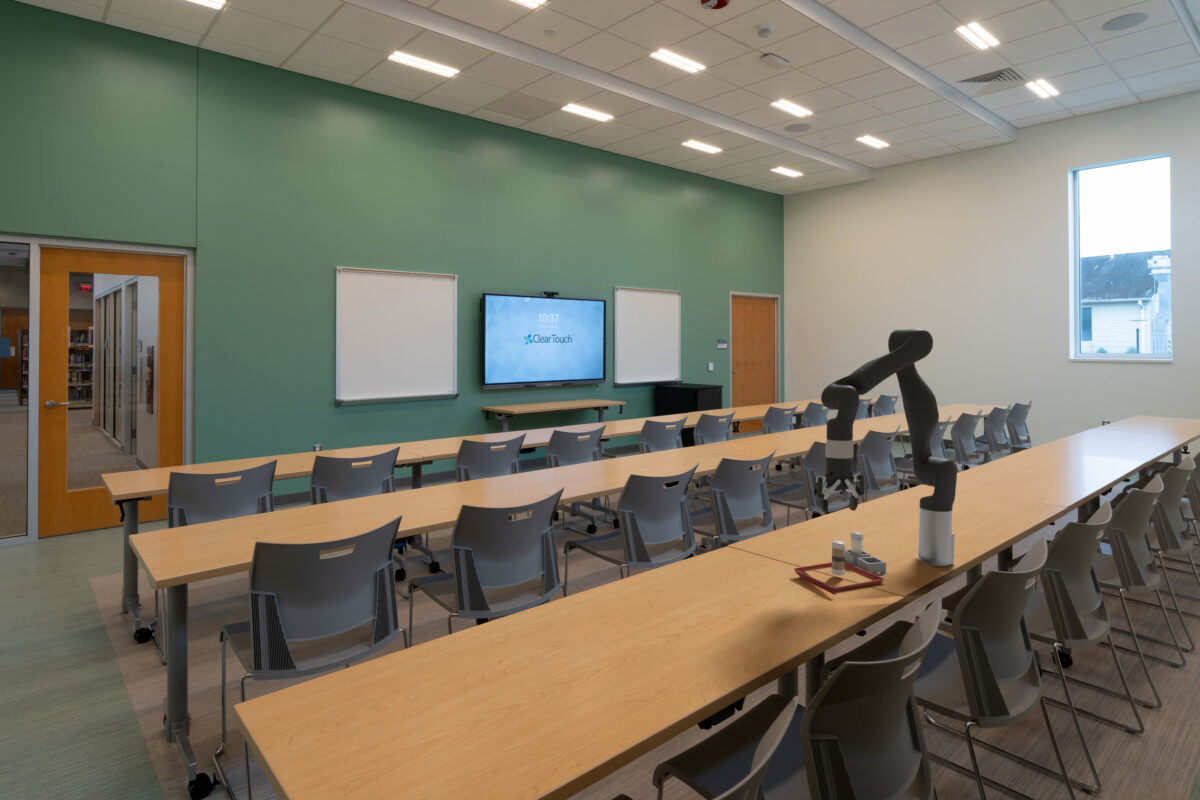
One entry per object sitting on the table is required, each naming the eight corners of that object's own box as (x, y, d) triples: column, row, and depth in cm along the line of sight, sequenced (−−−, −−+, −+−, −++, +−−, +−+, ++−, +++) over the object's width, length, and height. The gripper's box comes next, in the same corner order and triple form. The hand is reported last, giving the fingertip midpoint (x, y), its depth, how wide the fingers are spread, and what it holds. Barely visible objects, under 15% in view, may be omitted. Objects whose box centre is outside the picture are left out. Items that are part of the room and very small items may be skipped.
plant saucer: (792, 578, 194) (792, 567, 194) (840, 570, 201) (841, 560, 200) (833, 599, 177) (834, 587, 177) (885, 590, 184) (886, 578, 184)
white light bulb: (858, 559, 205) (859, 531, 204) (865, 563, 201) (865, 534, 201) (848, 560, 204) (848, 531, 204) (854, 563, 201) (854, 535, 200)
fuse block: (858, 561, 207) (858, 547, 207) (889, 578, 192) (889, 563, 191) (840, 562, 206) (840, 548, 206) (869, 580, 191) (869, 565, 190)
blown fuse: (840, 570, 191) (840, 540, 190) (847, 574, 187) (847, 543, 187) (829, 571, 190) (829, 541, 190) (835, 575, 187) (835, 544, 186)
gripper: (855, 452, 191) (854, 506, 192) (809, 454, 189) (809, 509, 190) (869, 456, 184) (869, 512, 185) (822, 458, 181) (822, 515, 183)
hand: (838, 510), depth 187 cm, fingers open, 8 cm apart
